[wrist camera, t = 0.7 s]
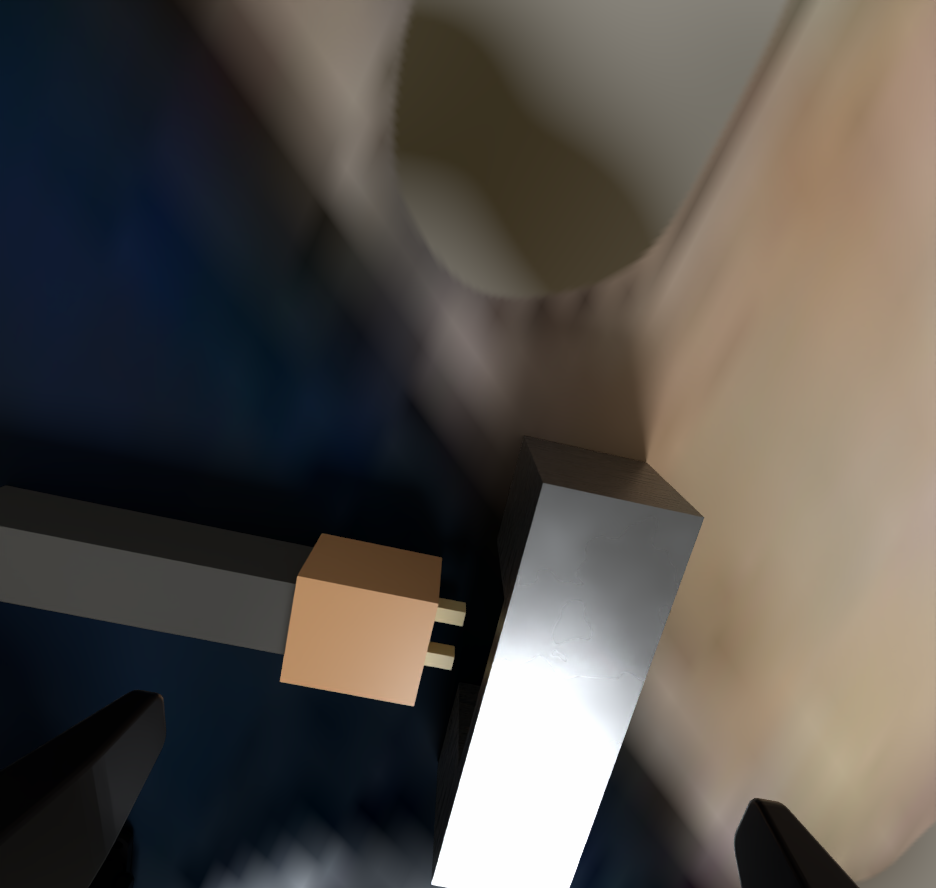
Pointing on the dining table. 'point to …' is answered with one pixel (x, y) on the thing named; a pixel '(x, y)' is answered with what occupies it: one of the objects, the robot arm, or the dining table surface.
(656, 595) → the housing
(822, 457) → the dining table surface
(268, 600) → the plug
